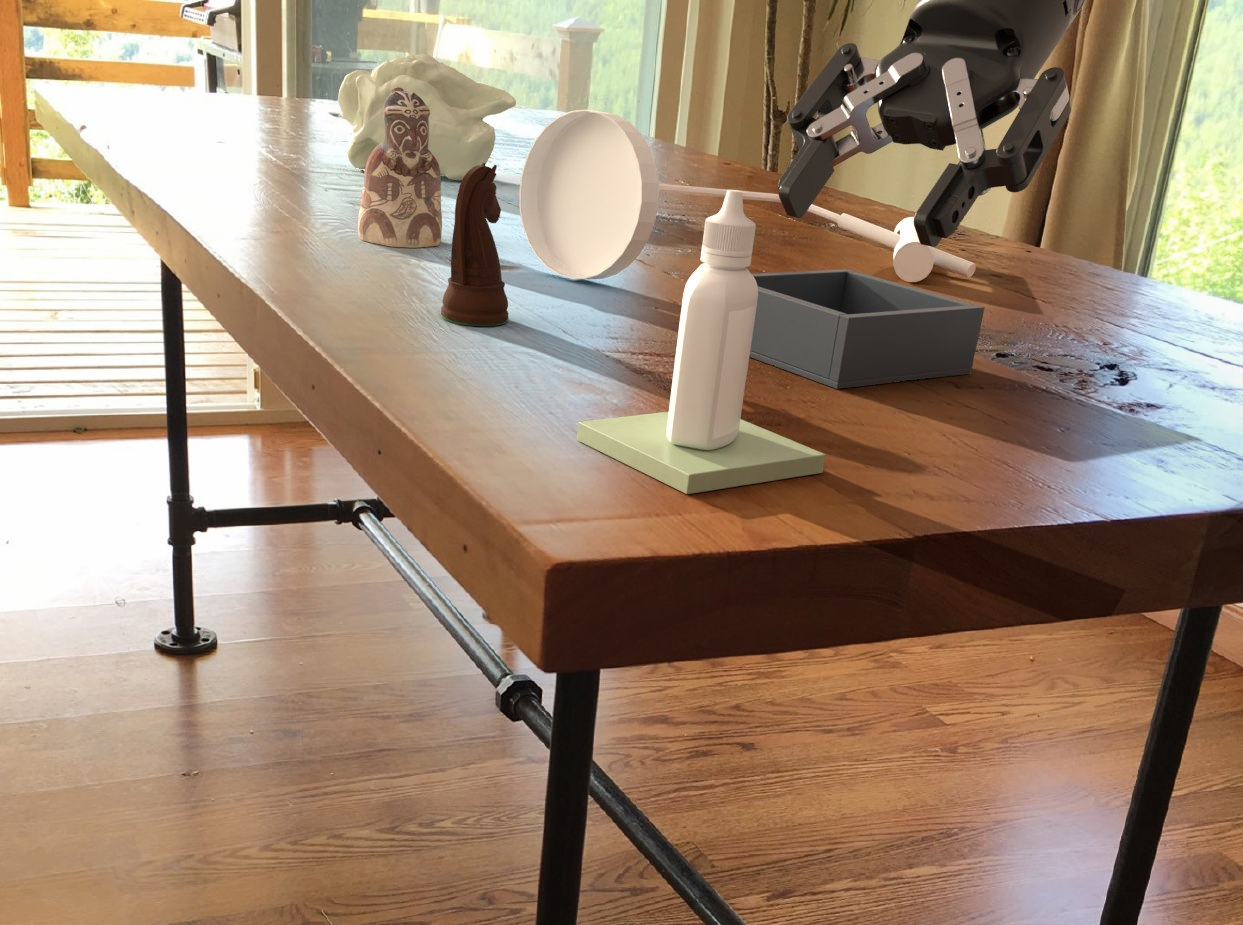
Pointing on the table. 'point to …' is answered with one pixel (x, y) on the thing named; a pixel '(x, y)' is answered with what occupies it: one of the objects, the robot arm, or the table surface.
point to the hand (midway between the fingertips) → (853, 220)
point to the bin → (860, 329)
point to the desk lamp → (642, 202)
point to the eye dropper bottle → (715, 334)
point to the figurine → (402, 179)
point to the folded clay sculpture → (444, 91)
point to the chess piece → (475, 255)
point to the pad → (699, 454)
